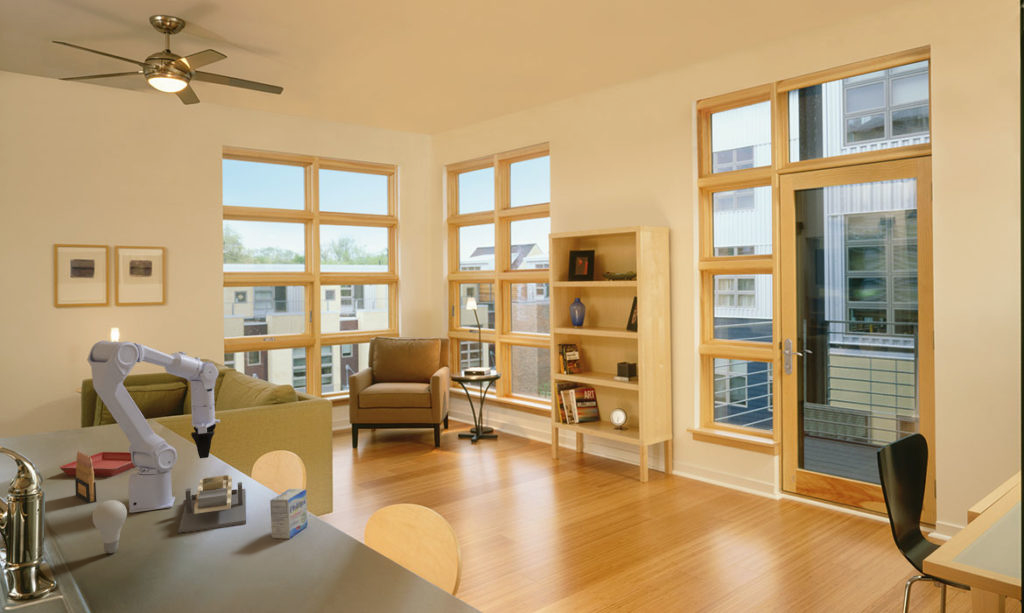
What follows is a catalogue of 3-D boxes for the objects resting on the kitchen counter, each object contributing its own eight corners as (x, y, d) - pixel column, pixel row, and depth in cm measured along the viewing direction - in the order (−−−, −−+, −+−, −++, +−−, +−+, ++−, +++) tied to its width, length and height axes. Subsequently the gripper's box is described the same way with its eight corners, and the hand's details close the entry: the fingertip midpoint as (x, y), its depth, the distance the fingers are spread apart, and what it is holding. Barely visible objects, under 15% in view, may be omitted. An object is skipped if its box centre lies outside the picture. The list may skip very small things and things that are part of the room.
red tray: (154, 462, 208) (154, 452, 208) (114, 479, 190) (114, 467, 190) (102, 461, 210) (101, 451, 210) (57, 478, 192) (57, 467, 192)
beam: (236, 508, 151) (235, 494, 151) (188, 515, 147) (187, 500, 147) (237, 481, 172) (236, 468, 172) (195, 486, 168) (194, 473, 168)
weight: (223, 497, 156) (222, 481, 156) (203, 500, 154) (202, 483, 154) (223, 492, 160) (223, 476, 160) (204, 494, 158) (203, 478, 158)
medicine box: (289, 539, 141) (288, 500, 140) (270, 538, 141) (269, 499, 141) (308, 526, 148) (306, 488, 148) (290, 525, 149) (289, 487, 149)
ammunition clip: (96, 501, 169) (94, 456, 168) (88, 503, 167) (86, 457, 167) (83, 493, 176) (81, 449, 175) (75, 495, 174) (73, 451, 174)
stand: (246, 523, 151) (245, 498, 150) (178, 533, 145) (177, 507, 145) (245, 491, 175) (244, 469, 174) (187, 499, 169) (186, 476, 169)
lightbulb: (92, 561, 131) (90, 507, 131) (95, 551, 136) (93, 499, 136) (127, 555, 134) (125, 502, 133) (129, 545, 139) (127, 494, 139)
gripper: (218, 408, 172) (220, 459, 173) (219, 399, 186) (221, 446, 186) (188, 410, 170) (190, 462, 170) (192, 401, 183) (194, 449, 183)
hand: (204, 454), depth 178 cm, fingers open, 7 cm apart
